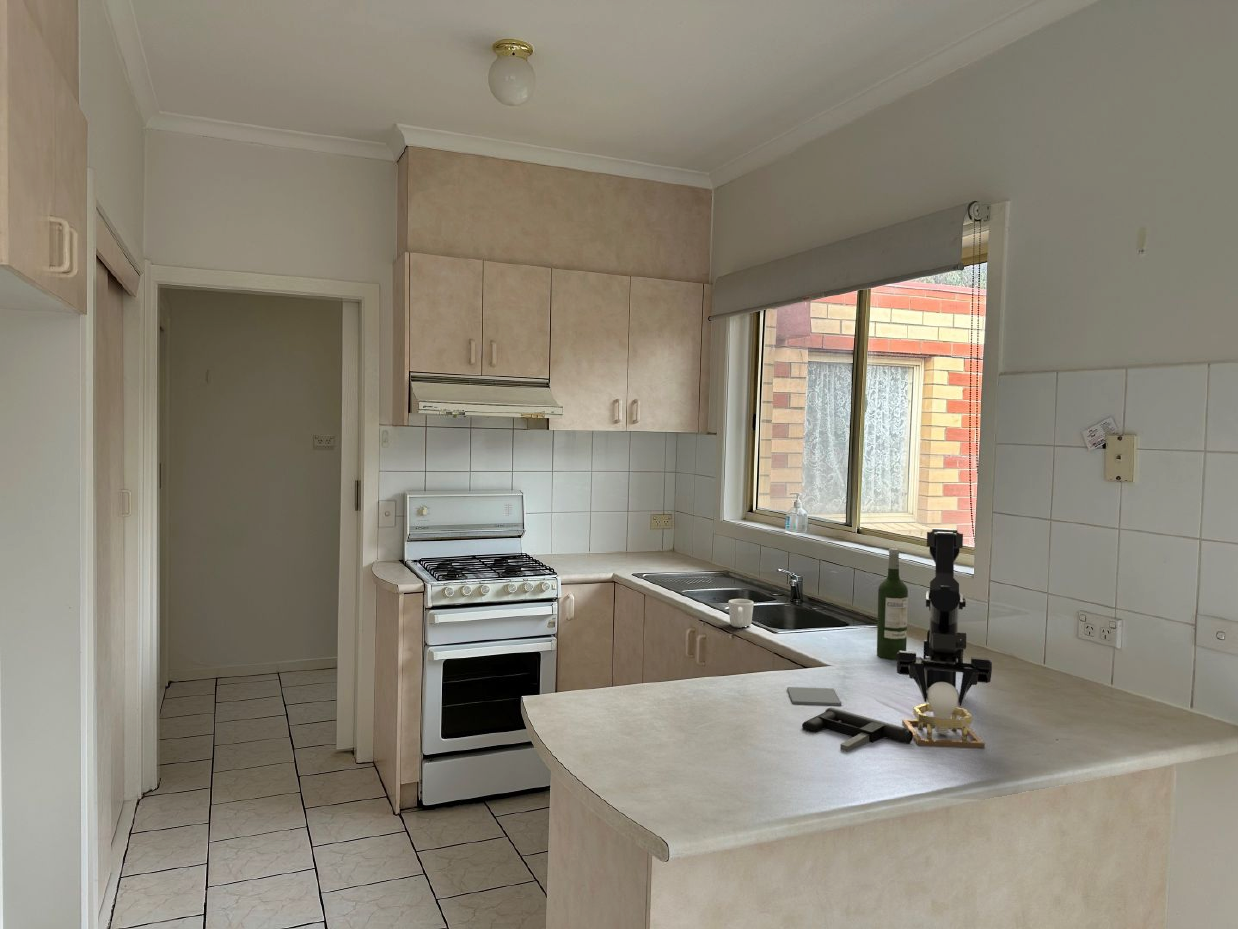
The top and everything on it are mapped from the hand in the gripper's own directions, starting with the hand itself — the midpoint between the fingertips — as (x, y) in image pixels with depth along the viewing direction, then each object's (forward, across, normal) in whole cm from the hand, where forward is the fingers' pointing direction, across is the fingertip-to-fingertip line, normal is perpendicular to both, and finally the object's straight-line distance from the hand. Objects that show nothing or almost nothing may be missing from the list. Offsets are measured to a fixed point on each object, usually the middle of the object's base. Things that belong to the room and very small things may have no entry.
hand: (942, 703), depth 181 cm
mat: (-7, -28, +18) cm, 34 cm away
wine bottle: (-39, -12, +50) cm, 65 cm away
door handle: (+10, -18, +1) cm, 20 cm away
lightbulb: (+4, 0, +6) cm, 7 cm away
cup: (-52, -59, +64) cm, 101 cm away
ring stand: (+4, 0, +6) cm, 7 cm away
